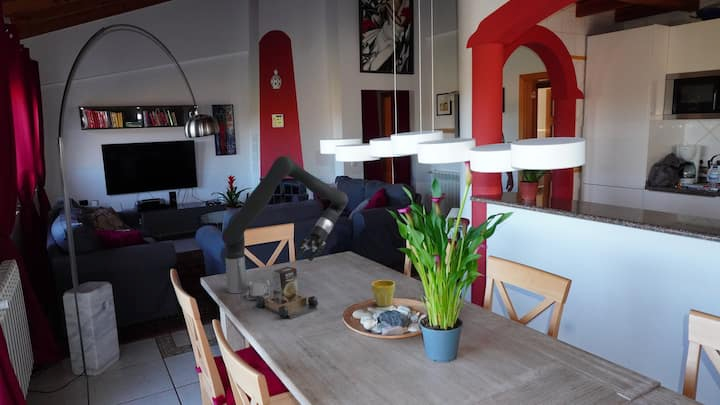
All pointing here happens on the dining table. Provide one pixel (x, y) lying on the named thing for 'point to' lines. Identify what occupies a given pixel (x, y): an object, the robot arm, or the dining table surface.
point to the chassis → (289, 306)
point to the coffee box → (285, 285)
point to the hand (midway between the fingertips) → (303, 258)
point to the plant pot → (383, 292)
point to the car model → (258, 290)
